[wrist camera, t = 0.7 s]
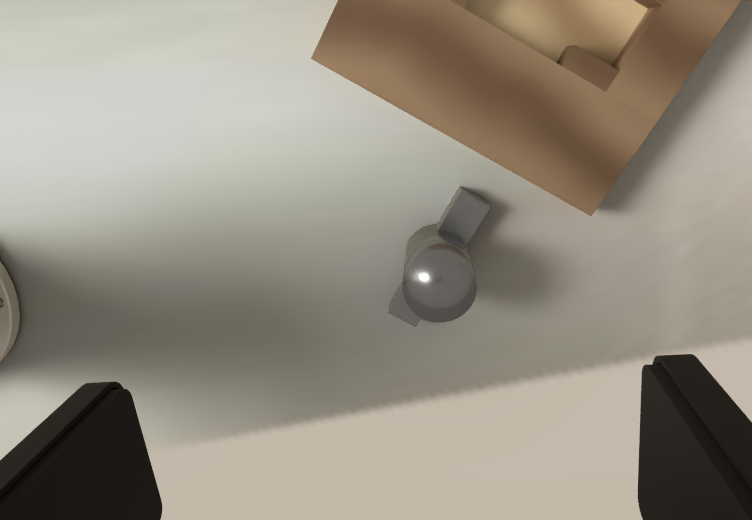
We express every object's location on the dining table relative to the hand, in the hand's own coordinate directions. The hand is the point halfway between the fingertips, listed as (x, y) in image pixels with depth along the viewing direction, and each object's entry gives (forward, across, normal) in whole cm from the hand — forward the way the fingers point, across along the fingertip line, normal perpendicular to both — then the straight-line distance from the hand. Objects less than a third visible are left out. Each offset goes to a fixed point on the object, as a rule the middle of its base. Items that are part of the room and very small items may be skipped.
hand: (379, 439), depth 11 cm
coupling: (+27, 0, +6) cm, 27 cm away
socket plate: (+27, -7, -9) cm, 29 cm away
